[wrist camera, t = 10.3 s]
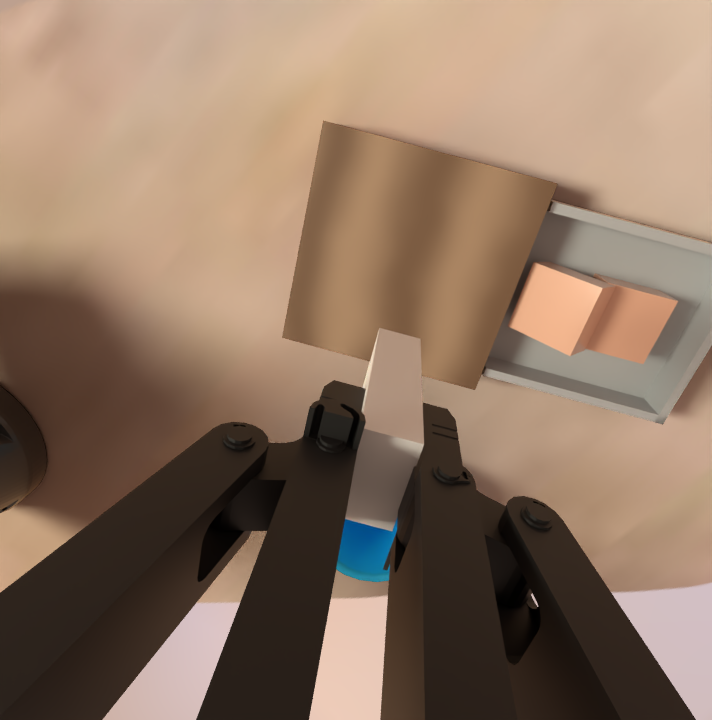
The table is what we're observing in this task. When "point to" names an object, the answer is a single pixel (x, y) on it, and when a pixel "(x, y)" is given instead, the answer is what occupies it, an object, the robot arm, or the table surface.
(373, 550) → the mug
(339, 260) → the brown square slab
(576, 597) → the robot arm
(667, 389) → the tray
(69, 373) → the table surface
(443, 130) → the table surface
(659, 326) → the tile
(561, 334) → the tile
